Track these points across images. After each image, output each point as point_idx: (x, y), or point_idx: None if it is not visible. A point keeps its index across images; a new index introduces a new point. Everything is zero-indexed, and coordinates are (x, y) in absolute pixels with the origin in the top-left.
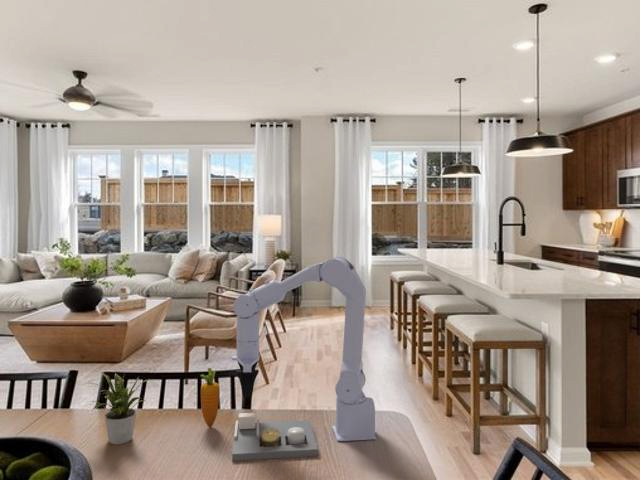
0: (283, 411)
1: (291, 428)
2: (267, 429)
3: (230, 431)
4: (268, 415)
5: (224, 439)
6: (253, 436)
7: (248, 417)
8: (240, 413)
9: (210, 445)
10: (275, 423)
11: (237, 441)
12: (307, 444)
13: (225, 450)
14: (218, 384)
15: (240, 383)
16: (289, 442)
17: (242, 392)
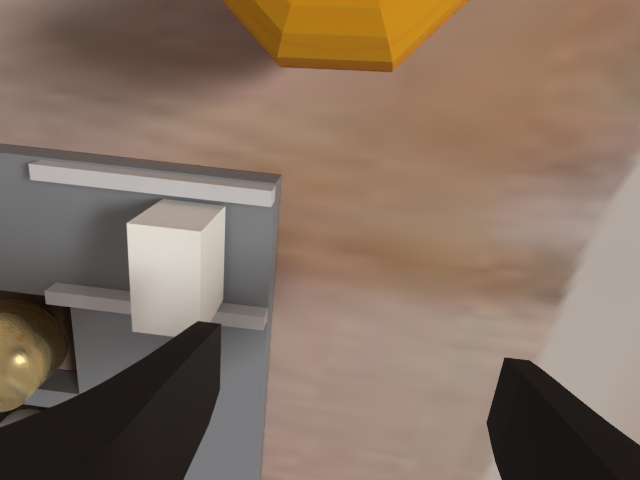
0: (468, 450)
1: None
2: (19, 362)
3: (260, 142)
4: (438, 373)
5: (153, 100)
6: (80, 269)
7: (132, 286)
8: (197, 240)
9: (78, 6)
10: (235, 398)
11: (19, 177)
12: None
13: (14, 100)
14: (379, 56)
15: (81, 393)
16: (7, 417)
17: (170, 340)
